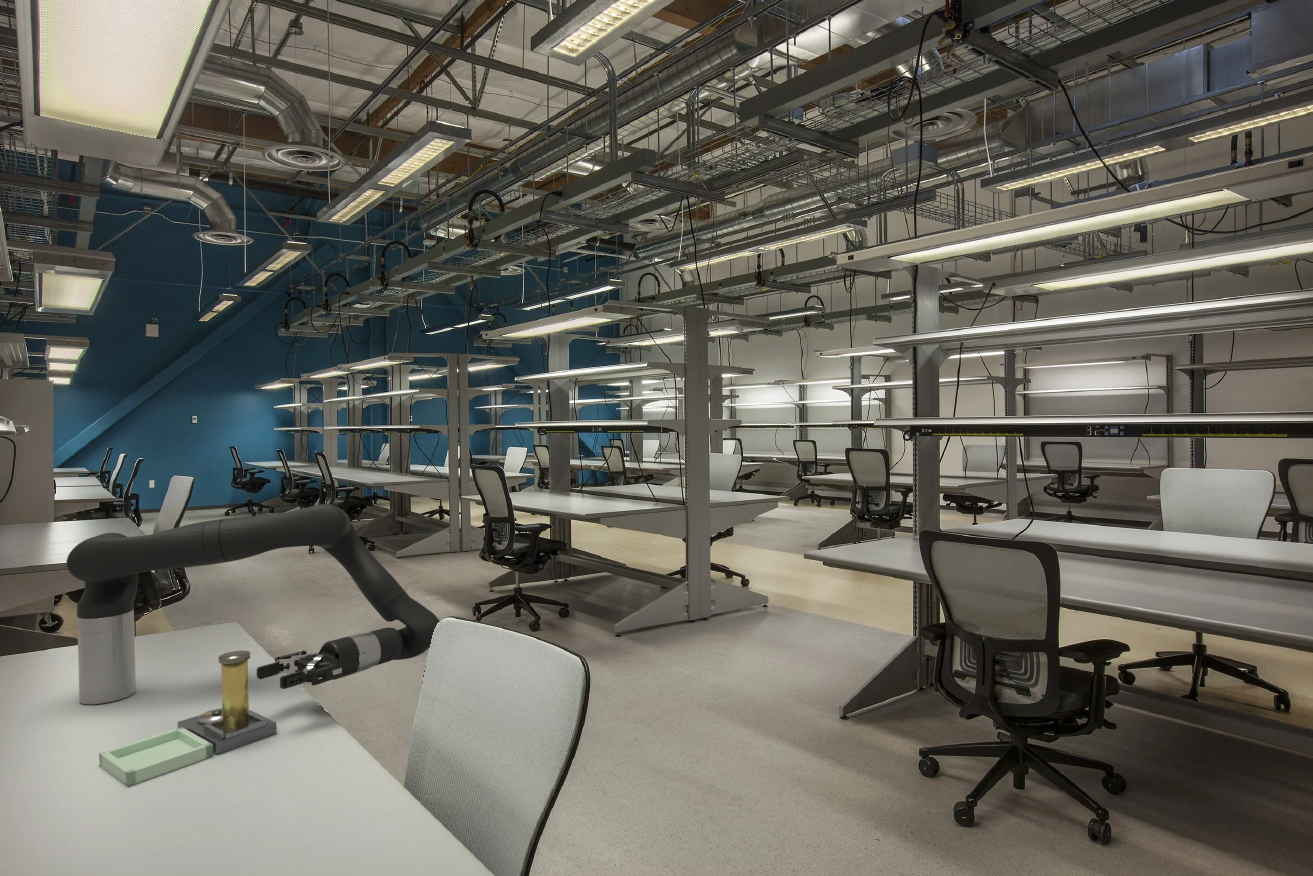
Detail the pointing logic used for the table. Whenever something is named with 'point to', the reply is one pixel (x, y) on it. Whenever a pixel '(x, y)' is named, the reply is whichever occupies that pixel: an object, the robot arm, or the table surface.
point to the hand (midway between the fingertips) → (268, 678)
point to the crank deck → (212, 731)
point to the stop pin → (235, 689)
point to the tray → (155, 755)
